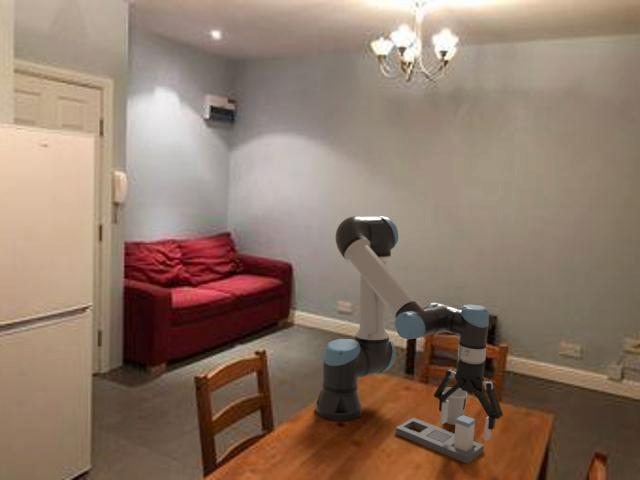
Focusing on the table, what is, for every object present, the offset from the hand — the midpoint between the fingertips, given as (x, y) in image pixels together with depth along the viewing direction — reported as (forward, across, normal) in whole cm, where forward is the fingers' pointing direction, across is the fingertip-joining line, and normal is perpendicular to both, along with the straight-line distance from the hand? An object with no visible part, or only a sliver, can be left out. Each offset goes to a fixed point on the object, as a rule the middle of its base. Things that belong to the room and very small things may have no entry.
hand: (464, 430), depth 159 cm
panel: (+7, -8, 0) cm, 10 cm away
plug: (+7, 0, 0) cm, 7 cm away
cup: (+7, -12, +16) cm, 21 cm away
